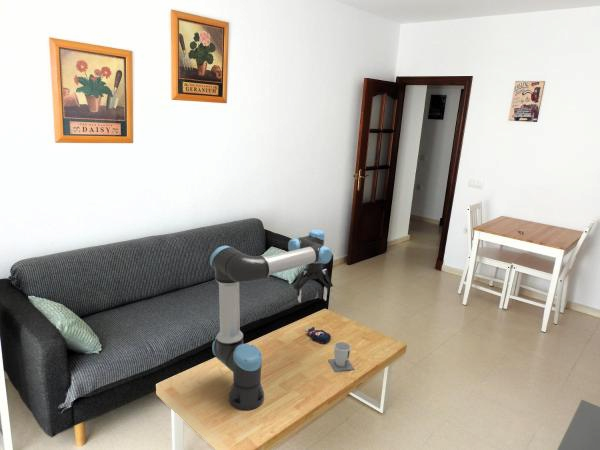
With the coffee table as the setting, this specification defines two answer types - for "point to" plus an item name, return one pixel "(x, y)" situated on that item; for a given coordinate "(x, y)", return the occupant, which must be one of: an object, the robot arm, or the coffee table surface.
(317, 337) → the figurine
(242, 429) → the coffee table surface
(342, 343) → the cup
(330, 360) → the coaster
